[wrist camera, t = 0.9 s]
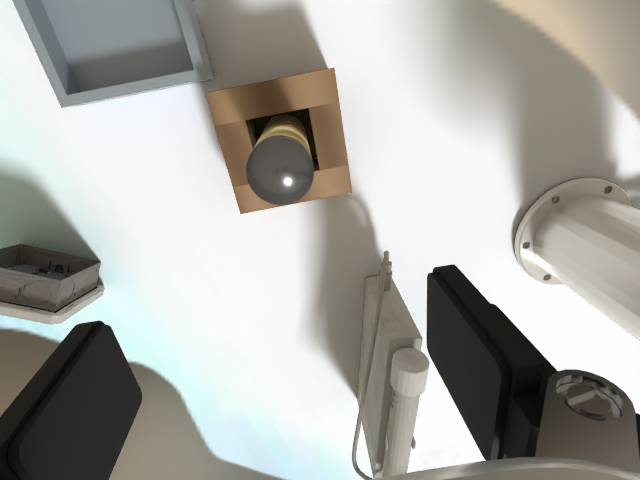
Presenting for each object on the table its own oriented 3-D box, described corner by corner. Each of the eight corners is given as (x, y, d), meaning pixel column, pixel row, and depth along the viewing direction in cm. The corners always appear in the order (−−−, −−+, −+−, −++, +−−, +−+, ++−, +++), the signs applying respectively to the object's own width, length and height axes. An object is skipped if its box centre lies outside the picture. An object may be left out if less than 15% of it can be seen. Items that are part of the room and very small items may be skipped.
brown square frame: (328, 69, 31) (334, 67, 27) (344, 177, 36) (352, 192, 31) (218, 90, 32) (205, 93, 27) (247, 196, 36) (240, 213, 31)
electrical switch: (13, 272, 38) (-69, 319, 29) (15, 227, 36) (-70, 263, 27) (107, 292, 39) (57, 342, 31) (113, 250, 38) (62, 290, 29)
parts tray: (165, -98, 26) (151, -118, 23) (214, 78, 31) (207, 78, 28) (7, -66, 26) (-26, -82, 24) (81, 105, 31) (61, 107, 29)
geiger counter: (419, 510, 37) (460, 309, 26) (358, 515, 36) (375, 312, 26) (386, 399, 49) (405, 233, 39) (340, 401, 49) (347, 235, 38)
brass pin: (301, 110, 33) (307, 131, 20) (309, 153, 34) (319, 198, 22) (259, 119, 33) (237, 145, 20) (269, 161, 34) (255, 210, 22)
